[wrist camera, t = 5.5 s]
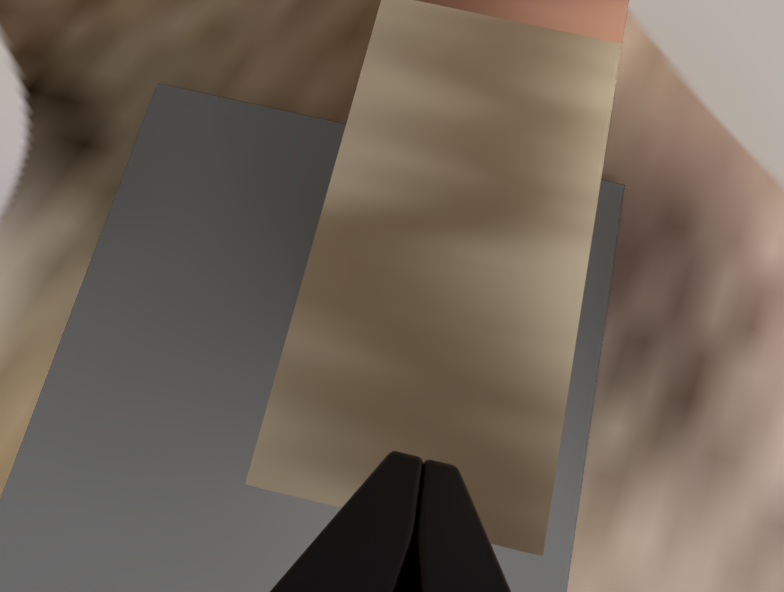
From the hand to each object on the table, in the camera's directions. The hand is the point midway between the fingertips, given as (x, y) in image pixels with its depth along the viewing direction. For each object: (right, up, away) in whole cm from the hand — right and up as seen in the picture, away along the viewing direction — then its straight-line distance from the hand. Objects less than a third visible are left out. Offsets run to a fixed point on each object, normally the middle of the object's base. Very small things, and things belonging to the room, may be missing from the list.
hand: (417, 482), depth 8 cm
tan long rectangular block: (0, -2, +4) cm, 4 cm away
